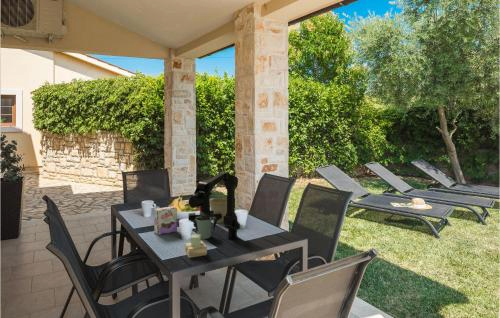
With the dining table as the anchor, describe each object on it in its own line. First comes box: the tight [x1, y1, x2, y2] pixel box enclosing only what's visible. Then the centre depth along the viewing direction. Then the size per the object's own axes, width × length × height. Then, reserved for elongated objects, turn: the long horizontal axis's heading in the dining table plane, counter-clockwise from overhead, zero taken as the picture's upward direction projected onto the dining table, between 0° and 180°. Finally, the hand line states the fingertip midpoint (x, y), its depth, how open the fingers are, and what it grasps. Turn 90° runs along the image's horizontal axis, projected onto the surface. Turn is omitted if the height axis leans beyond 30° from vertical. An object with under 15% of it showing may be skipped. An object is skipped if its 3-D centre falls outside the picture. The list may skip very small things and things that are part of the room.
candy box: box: [153, 205, 178, 236], centre depth 227 cm, size 14×6×16 cm, turn 126°
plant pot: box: [210, 197, 227, 224], centre depth 252 cm, size 15×15×16 cm
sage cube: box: [190, 234, 202, 247], centre depth 191 cm, size 5×5×5 cm
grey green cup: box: [196, 218, 212, 240], centre depth 219 cm, size 10×10×12 cm
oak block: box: [184, 240, 208, 258], centre depth 192 cm, size 10×10×5 cm
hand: (205, 230), depth 195 cm, fingers open, 9 cm apart
